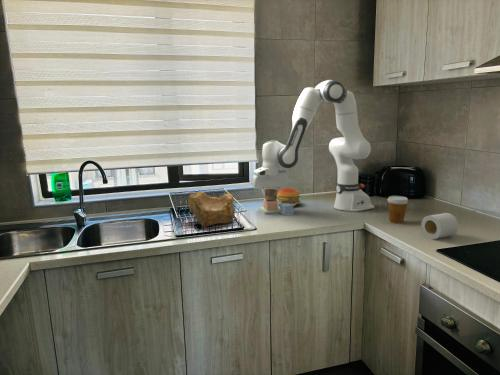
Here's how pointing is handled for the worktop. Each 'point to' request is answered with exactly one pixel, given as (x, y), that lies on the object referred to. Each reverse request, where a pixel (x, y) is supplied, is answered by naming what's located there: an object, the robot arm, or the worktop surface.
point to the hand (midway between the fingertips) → (270, 195)
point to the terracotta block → (270, 204)
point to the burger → (288, 196)
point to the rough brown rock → (211, 208)
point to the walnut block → (271, 194)
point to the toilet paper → (439, 225)
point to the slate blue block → (286, 208)
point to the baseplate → (269, 211)
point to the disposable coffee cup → (397, 208)
